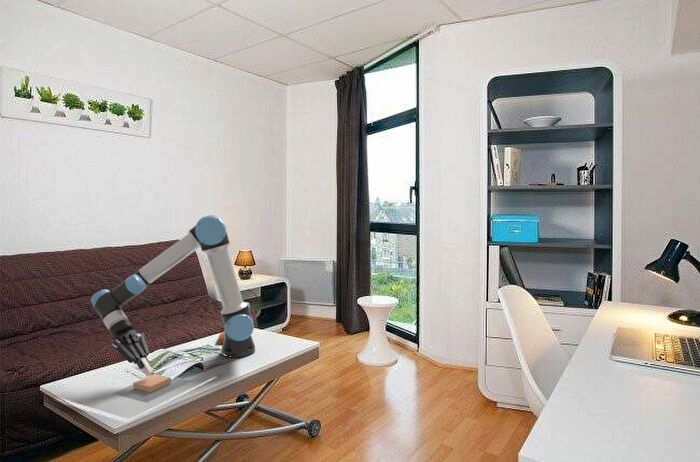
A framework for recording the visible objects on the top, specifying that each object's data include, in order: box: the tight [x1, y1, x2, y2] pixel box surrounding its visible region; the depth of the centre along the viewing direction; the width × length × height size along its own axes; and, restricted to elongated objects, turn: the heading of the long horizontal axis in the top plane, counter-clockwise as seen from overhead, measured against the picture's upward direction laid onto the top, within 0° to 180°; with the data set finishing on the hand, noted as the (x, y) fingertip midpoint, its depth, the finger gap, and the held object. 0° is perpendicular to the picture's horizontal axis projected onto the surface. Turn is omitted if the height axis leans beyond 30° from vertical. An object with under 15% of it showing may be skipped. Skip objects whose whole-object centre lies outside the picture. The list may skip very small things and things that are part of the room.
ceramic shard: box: [218, 331, 225, 346], centre depth 218 cm, size 15×6×15 cm
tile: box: [132, 373, 171, 393], centre depth 158 cm, size 2×9×9 cm
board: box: [113, 376, 193, 403], centre depth 158 cm, size 18×20×1 cm
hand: (150, 373), depth 158 cm, fingers closed
